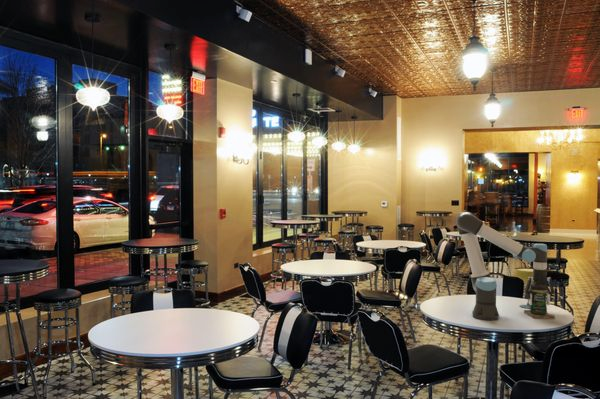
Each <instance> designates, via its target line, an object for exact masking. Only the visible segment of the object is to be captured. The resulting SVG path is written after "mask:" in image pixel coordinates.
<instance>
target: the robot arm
mask: <svg viewBox="0 0 600 399" xmlns="http://www.w3.org/2000/svg"><path fill="white" fill-rule="evenodd" d="M455 225H456V227H457V232H458V234H459V236H460V237H461V238H462V240H463V242H464V247H465V250H466V251H465V252H466V254H467V255H466V256H467V258H468V262H469V266H470V270H471V273H472V274H470V279H471V283H472V285H471V286H472V288H473V291H474V292H475V304H474V306H473V310H472V314H471V315H472V317H473V318H475V319H478V320H484V321H496V320H499V319H500V314H499V310H498V307H497V286H498V285H497V280H496V279H494V278H492V277H491V274H490V271H488V270H487V269H486V265H485V261H484V258H483V253H482V250H481V246H480V243H479V239H478V236H479V237H480V238H483V239H484V240H487V241H488V242H490V243H491V244H494V245H495V246H498V248H500V249H503V250H504V251H506V252H508V253H510V254H512V257H513V258H514V259H518V260H519V259H520V260H522V261H524V262H525V263H533V265H532V266H533V267H532V268H534V269H533V277H528V282H527V283H526V284H525V287H524V291H523V292H524V293H525V294H527V297H526V298H527V300H528V299H529V304H530V305H532V294H531V292H532V288H530V287H531V284H532V283H533V284H534V285H537V284H545V285H546V287H547V293H546V305H547V306H550V305H551V300H552V295H553V294H555V293H556V291H555V289H554V285H553V281H552V277H550V276H549V277H547V274H548V272H547V271H548V270H547V268H548V246H547V244H546V243H545V244H544V243H534V244H533V246H525V245H523V244H521V243H519V242H518V241H516V240H514V239H513V238H511V237H508V236H506V235H505V234H503V233H501V232H500V231H497V230H495V229H494V228H492V227H490V226H488V225H487V224H485V221H483V220H481V219H479V218H478V217H477V216H475V215H474V214H473V213H472V212H469V211H461V212H459V213H458V214H457V215H456V217H455ZM532 279H533V280H534V282H532V283H531V281H532ZM547 282H548V283H547ZM547 284H548V285H547Z"/></svg>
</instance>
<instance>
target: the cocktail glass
mask: <svg viewBox="0 0 600 399" xmlns="http://www.w3.org/2000/svg"><path fill="white" fill-rule="evenodd" d="M533 269H534V268H533V267H516V268H514V275H515V276H516V277H517V278H519V279H520V280H523V281H524V282H525V283H526V284H527V282H528V277H533ZM533 282H534V280H533V279H532V281H531V284H532V283H533ZM519 308H523V309H525V310H530V304H529V299H528V298H527V303H526V304H519Z"/></svg>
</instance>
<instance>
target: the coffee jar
mask: <svg viewBox="0 0 600 399" xmlns="http://www.w3.org/2000/svg"><path fill="white" fill-rule="evenodd" d="M529 288H532V292H531V294H532V305H530V309H529V310H530V312H531V313H533V314H541V315H545V314H547V313H548V308H547V306H548V305H547V294H548V292H547V287H546V285H545V284H537V285H534V284H533V282H532V283H531V284H530V287H529Z"/></svg>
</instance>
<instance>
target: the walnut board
mask: <svg viewBox="0 0 600 399" xmlns="http://www.w3.org/2000/svg"><path fill="white" fill-rule="evenodd" d="M523 313H524V314H525V315H527V316H528V317H531V318H532V319H556V318H555V315H554V314H550V313H549V312H547V314H545V315H541V314H533V313H531V312H530V309H524V310H523Z"/></svg>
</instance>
